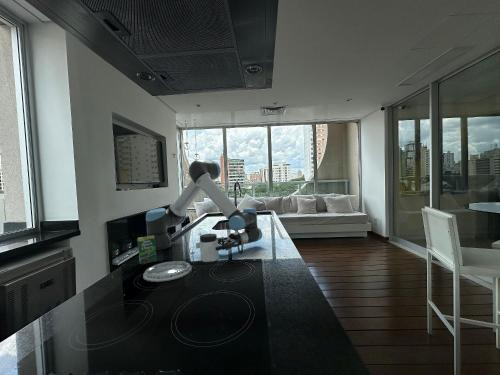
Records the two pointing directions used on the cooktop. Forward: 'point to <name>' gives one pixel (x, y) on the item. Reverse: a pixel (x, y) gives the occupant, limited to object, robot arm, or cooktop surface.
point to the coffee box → (147, 249)
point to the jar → (205, 243)
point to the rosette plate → (167, 271)
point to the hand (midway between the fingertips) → (202, 248)
